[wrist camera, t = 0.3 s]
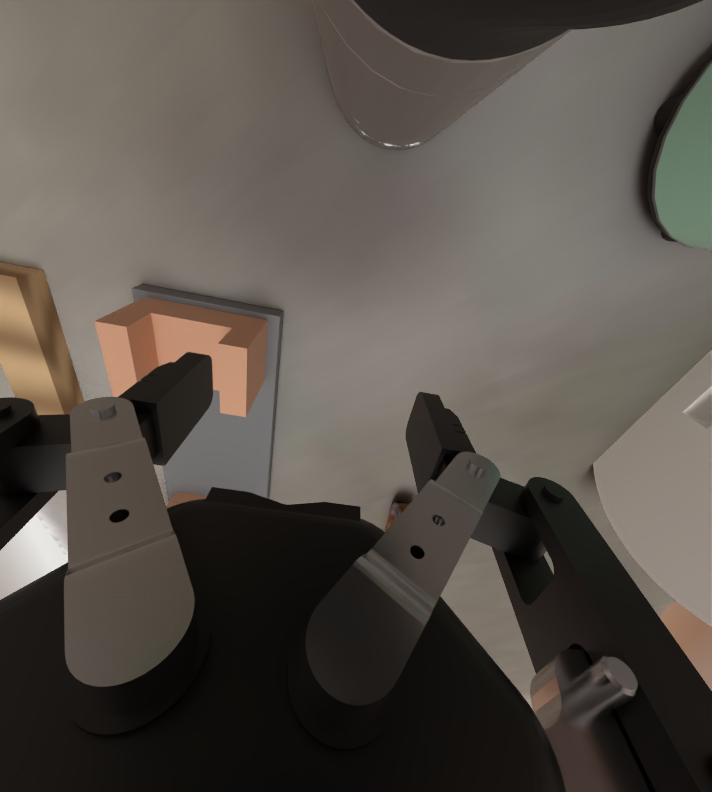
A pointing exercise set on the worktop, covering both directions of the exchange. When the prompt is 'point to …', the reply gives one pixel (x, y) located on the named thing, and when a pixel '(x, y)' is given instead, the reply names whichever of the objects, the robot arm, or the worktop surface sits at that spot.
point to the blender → (684, 165)
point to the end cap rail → (225, 432)
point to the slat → (35, 343)
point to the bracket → (667, 490)
